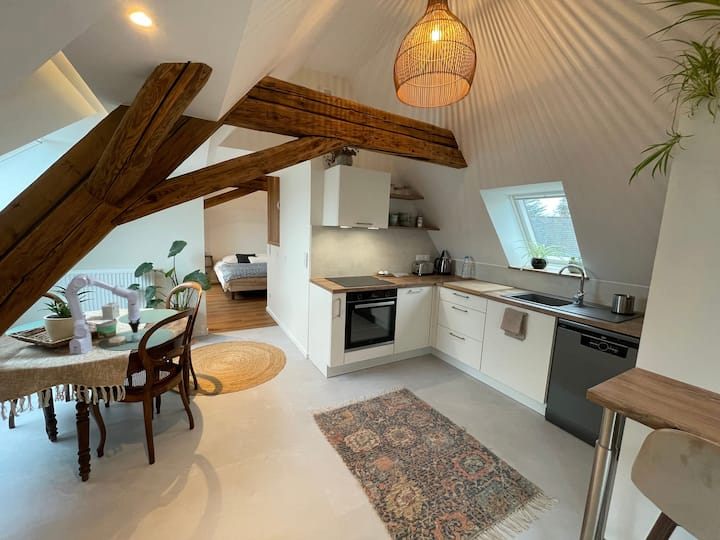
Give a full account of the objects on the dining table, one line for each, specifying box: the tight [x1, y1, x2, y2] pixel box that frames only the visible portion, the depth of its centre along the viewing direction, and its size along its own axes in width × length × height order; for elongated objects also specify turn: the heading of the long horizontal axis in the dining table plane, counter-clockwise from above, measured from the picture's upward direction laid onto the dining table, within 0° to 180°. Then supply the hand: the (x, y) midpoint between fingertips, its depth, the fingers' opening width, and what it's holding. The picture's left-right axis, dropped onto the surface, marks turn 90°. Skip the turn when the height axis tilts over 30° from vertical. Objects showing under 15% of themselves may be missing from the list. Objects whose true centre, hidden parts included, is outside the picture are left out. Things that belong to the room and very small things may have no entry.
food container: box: [95, 318, 118, 340], centre depth 192 cm, size 12×6×10 cm, turn 168°
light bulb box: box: [101, 302, 121, 321], centre depth 226 cm, size 11×7×11 cm, turn 17°
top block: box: [108, 335, 126, 343], centre depth 181 cm, size 6×6×2 cm
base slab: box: [107, 338, 128, 347], centre depth 182 cm, size 6×6×2 cm
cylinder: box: [130, 333, 141, 344], centre depth 187 cm, size 4×4×4 cm
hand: (135, 330), depth 186 cm, fingers open, 7 cm apart
